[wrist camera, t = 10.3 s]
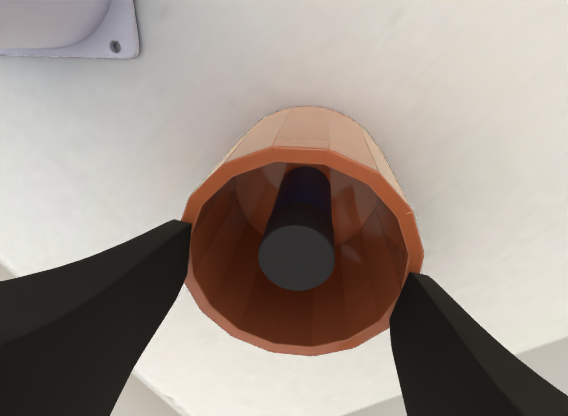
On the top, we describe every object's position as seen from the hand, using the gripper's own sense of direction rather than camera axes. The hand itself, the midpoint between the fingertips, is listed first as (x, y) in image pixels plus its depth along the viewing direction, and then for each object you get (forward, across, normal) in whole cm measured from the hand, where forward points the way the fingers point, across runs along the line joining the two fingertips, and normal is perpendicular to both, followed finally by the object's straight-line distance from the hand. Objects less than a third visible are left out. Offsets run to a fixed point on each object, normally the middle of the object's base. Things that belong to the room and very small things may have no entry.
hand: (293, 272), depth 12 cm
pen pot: (+8, 0, 0) cm, 8 cm away
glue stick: (+7, 0, 0) cm, 7 cm away
